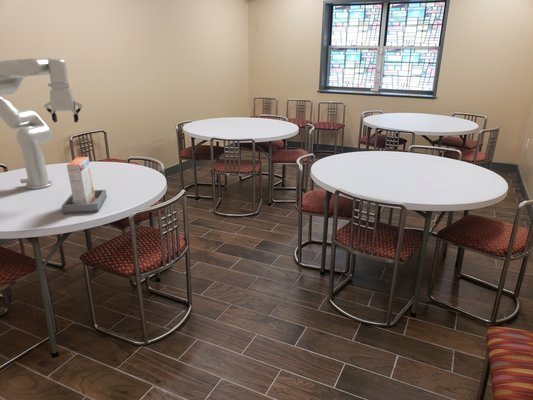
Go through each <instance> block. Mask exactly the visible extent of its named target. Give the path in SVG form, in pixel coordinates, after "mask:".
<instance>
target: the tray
mask: <svg viewBox="0 0 533 400" xmlns="http://www.w3.org/2000/svg"><path fill="white" fill-rule="evenodd" d="M94 192H95V198H94V200H93V201H92V202H91V203H89V204H74V200H73V195H72V193H71V194H70V195H69V197H67V199H66V200H65V201H64V202H63V203H62V205H61V210H62V214H63V215H70V214H71V215H72V214H89V213H99V211H100V210H101V208H102V207H103V205H104V202H105V201H106V199H107V197H108V196H107V190H106V189H94Z"/></svg>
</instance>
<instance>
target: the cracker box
mask: <svg viewBox="0 0 533 400" xmlns="http://www.w3.org/2000/svg"><path fill="white" fill-rule="evenodd" d="M66 168H67V173H68V179H69V184H70V188H71V189H70V190H71V194H72V195H73V200H74V204H89V203H91V202H92V201H93V200H94V198H95V192H94V190H95V187H94V182H93V181H94V180H93V175H92V169H91V164H90V159H89V156H78V157H75V158H74V159H72V160H71V161H70V162H69V163H68V164H67V165H66Z"/></svg>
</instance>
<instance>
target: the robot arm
mask: <svg viewBox="0 0 533 400" xmlns="http://www.w3.org/2000/svg"><path fill="white" fill-rule="evenodd" d="M43 75H47V76H48V75H49V79H50V83H48V84H47V85H48V87H50V90H49V102H47V103H45V104H44V105H43V107H44V108H45V109H46V112H48V113H49V114H50V115H51V118H52V121H53V123H57V122H58V118H57V117H58V116H57V113H56V112H61V111H62V112H63V111H64V112H65V111H67V112H68V111H69V112H70V111H71V112H72V113H73V121H74V123H78V122H79V113H80V112H81V111H82V108H83V104H81V103H79V102H77V101H75V98H74V94H73V92H72V89H71V88H70V84H69V78H68V77H69V76H68V70H67V64H66V61H65V60H64V59H63V58H50V57H35V58H33V57H31V58H24V59H23V58H22V59H21V58H17V59H15V58H14V59H8V60H0V118H1V120H3V122H4V123H5V124H6V125H7V126H8V127H9V128H10V129H11V130H17V132H16V136H15V137H16V140H17V143H18V146H19V148H20V150H21V154H22V159H23V164H24V167H25V172H26V177H27V178H20V179H19V181H20V184H25V188H26V189H28V190H40V189H45V188H48V187H50V186H52V185H53V182H52V181H51V180H49V177H48V172H47V165H46V161H45V154H44V152H43V150H42V149H41V147H40V146H39V145H40V144H44V143H46V142H49V141H50V140H51V139H52V136H53V132H52V130H51V129H50V127H49V126H48V125H47V124H46V123H45V121H44V120H43V119H42V117H40V115H38V113H36V111H34V110H33V109H30V108H24V109H18V108H17V107H15V106H14V105H13V103H12V102H11V101H9V100H8V99H6V98H5V97H3V96H4V95H12V94H15V93H16V92H17V91H18V89H19V88H20V86H21V85H22V84H21V83H22V82H23V80H24V78H26V77H33V76H43ZM76 107H77V109H76Z"/></svg>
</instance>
